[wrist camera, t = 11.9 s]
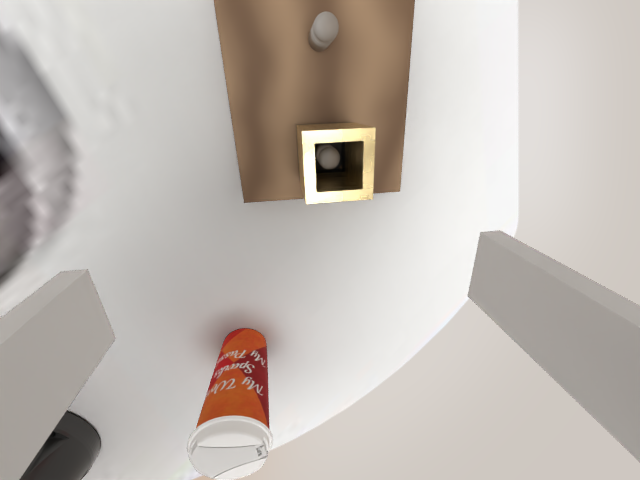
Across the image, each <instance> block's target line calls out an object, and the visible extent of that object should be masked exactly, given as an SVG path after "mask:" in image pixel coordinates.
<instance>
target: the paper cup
mask: <svg viewBox="0 0 640 480" xmlns="http://www.w3.org/2000/svg"><path fill="white" fill-rule="evenodd" d="M272 443H273V437H272V433H271V431H270V430H269V402H268V368H267V346H266V340H265V338H264V337H263V335H262V334H261V333H259V332H258V331H256V330H253V329H247V328H244V329H238V330H235V331H233V332H231V333H230V334H229V335H228V336H227V337H226V338H225V340H224V343H223V345H222V348H221V351H220V354H219V357H218V360H217V363H216V366H215V369H214V372H213V376H212V379H211V382H210V385H209V388H208V391H207V395H206V398H205V401H204V404H203V407H202V410H201V414H200V417H199V420H198V423H197V426H196V429H195V430H194V431H193V432H192V434H191V435H190V438H189V441H188V445H187V450H188V453H189V454H188V457H189V460H190V462H191V463H192V465H193V467H194V468H195V470H196V471H197V472H199V473H200V474H202V475H204V476H207V477H209V478H213V479H218V480H232V479H238V478H242V477H245V476H248V475H250V474H252V473H254V472H256V471H257V470H258V469H260V468H261V467H262V465H263V464H264V463H265V461H266V459H267V456H268V452H269V451H270V449H271V446H272Z"/></svg>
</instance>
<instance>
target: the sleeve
mask: <svg viewBox="0 0 640 480" xmlns="http://www.w3.org/2000/svg"><path fill="white" fill-rule="evenodd" d="M295 125H296V140H297V155H298V170H299V181H300V184H301V188H302V191H303V195H304V199H305V202H306V204H315V203H328V202H341V201H355V200H368V199H373V183H374V157H375V131H376V128H375V127H371V126H367V125H362V124H358V123H354V122H330V123H309V124H295ZM330 142H341V149H342V168H338V169H322V170H315V147H314V143H330Z"/></svg>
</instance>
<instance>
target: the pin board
mask: <svg viewBox="0 0 640 480" xmlns="http://www.w3.org/2000/svg"><path fill="white" fill-rule="evenodd" d="M414 4H415V0H214V5H215V12H216V18H217V25H218V32H219V38H220V45H221V51H222V58H223V65H224V71H225V78H226V85H227V91H228V98H229V105H230V111H231V118H232V125H233V131H234V138H235V145H236V151H237V158H238V165H239V171H240V178H241V185H242V191H243V198H244V203H248V202H262V201H276V200H289V199H303V198H304V195H303V191H302V188H301V184H300V181H299V170H298V155H297V140H296V125H295V124H309V123H330V122H354V123H358V124H362V125H367V126H371V127H375V128H376V131H375V157H374V183H373V193H385V192H399V191H400V185H401V172H402V159H403V146H404V133H405V120H406V107H407V94H408V81H409V68H410V55H411V42H412V29H413V17H414ZM314 147H315V170H322V169H338V168H342V149H341V142H330V143H314Z"/></svg>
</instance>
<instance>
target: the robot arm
mask: <svg viewBox="0 0 640 480" xmlns="http://www.w3.org/2000/svg"><path fill="white" fill-rule="evenodd" d="M468 297H469V298H470V299H471V300H472V301H474V303H476V305H478V307H480V308H481V309H482V310H483V311H484V312H485V313H486V314H487V315H488V316H489V317H490V318H491V319H492V320H493V321H494V322H495V323H496V324H497V325H498V326H499V327H500V328H501V329H502V330H503V331H504V332H505V333H506V334H507V335H509V336H510V337H511V338H512V339H513V340H514V341H515V342H516V343H517V344H518V345H519V346H520V347H521V348H522V349H523V350H524V351H525V352H526V353H527V354H528V355H529V356H530V357H531V358H532V359H533V360H534V361H535V362H536V363H538V364H539V365H540V366H541V367H542V368H543V369H544V370H545V371H546V372H547V373H548V374H549V375H550V376H551V377H552V378H553V379H554V380H555V381H556V382H557V383H558V384H559V385H560V386H561V387H562V388H563V389H564V390H565V391H566V392H568V393H569V394H570V395H571V396H572V397H573V398H574V399H575V400H576V401H577V402H578V403H579V404H580V405H581V406H582V407H583V408H584V409H585V410H586V411H587V412H588V413H589V414H590V415H591V416H592V417H593V418H594V419H596V420H597V421H598V422H599V423H600V424H601V425H602V426H603V427H604V428H605V429H606V430H607V431H608V432H609V433H610V434H611V435H612V436H613V437H614V438H615V439H616V440H617V441H618V442H619V443H620V444H621V445H622V446H624V447H625V448H626V449H627V450H628V451H629V452H630V453H631V454H632V455H633V456H634V457H635V458H636V459H637V460H638V461H639V462H640V306H639V305H638V304H636V303H633V302H632V301H630V300H628V299H626V298H624V297H623V296H621V295H619V294H617V293H615V292H613V291H612V290H609V289H608V288H606V287H604V286H602V285H600V284H599V283H597V282H595V281H593V280H591V279H589V278H587V277H586V276H584V275H581V274H580V273H578V272H576V271H574V270H573V269H571V268H569V267H567V266H565V265H563V264H561V263H559V262H558V261H556V260H554V259H552V258H550V257H548V256H546V255H545V254H543V253H541V252H539V251H537V250H535V249H534V248H532V247H530V246H528V245H526V244H524V243H522V242H521V241H518V240H517V239H515V238H513V237H511V236H509V235H508V234H506V233H504V232H502V231H489V232H480V237H479V242H478V247H477V252H476V257H475V262H474V267H473V272H472V277H471V282H470V287H469V292H468ZM115 339H116V337H115V335H114V332H113V330H112V328H111V325H110V323H109V320H108V318H107V315H106V313H105V310H104V308H103V306H102V303H101V301H100V298H99V296H98V293H97V291H96V288H95V286H94V284H93V281H92V279H91V276H90V274H89V271H88V269H86V270H75V271H65V272H60V273H59V274H57V275H56V276H55V277H53V278H52V279H51V280H50V281H48V282H47V283H46V284H44V285H43V286H42V287H40V288H39V289H38V290H37V291H35V292H34V293H33V294H31V295H30V296H29V297H27V298H26V299H25V300H24V301H22V302H21V303H20V304H18V305H17V306H16V307H14V308H13V309H12V310H11V311H9V312H8V313H7V314H5V315H4V316H3V317H1V318H0V480H81V479H82V478H83V477H84V476H85V475H86V474H87V473H88V471H89V470H90V468H91V467H92V465H93V463H94V461H95V459H96V457H97V455H98V453H99V451H100V439H99V436H98V434H97V433H96V431H95V430H94V429H93V428H92V427H91V426H90V425H89V424H88V423H87V422H85V421H84V420H83V419H81V418H79V417H77V416H75V415H73V414H71V413H68V412H66V411H67V409H68V408H69V406H70V405H71V403H72V402H73V400H74V399H75V398H76V396H77V395H78V393H79V392H80V390H81V389H82V387H83V386H84V384H85V383H86V381H87V380H88V379H89V377H90V376H91V374H92V373H93V371H94V370H95V368H96V367H97V365H98V364H99V362H100V361H101V360H102V358H103V357H104V355H105V354H106V352H107V351H108V349H109V348H110V346H111V345H112V343H113V342H114V340H115Z"/></svg>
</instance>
